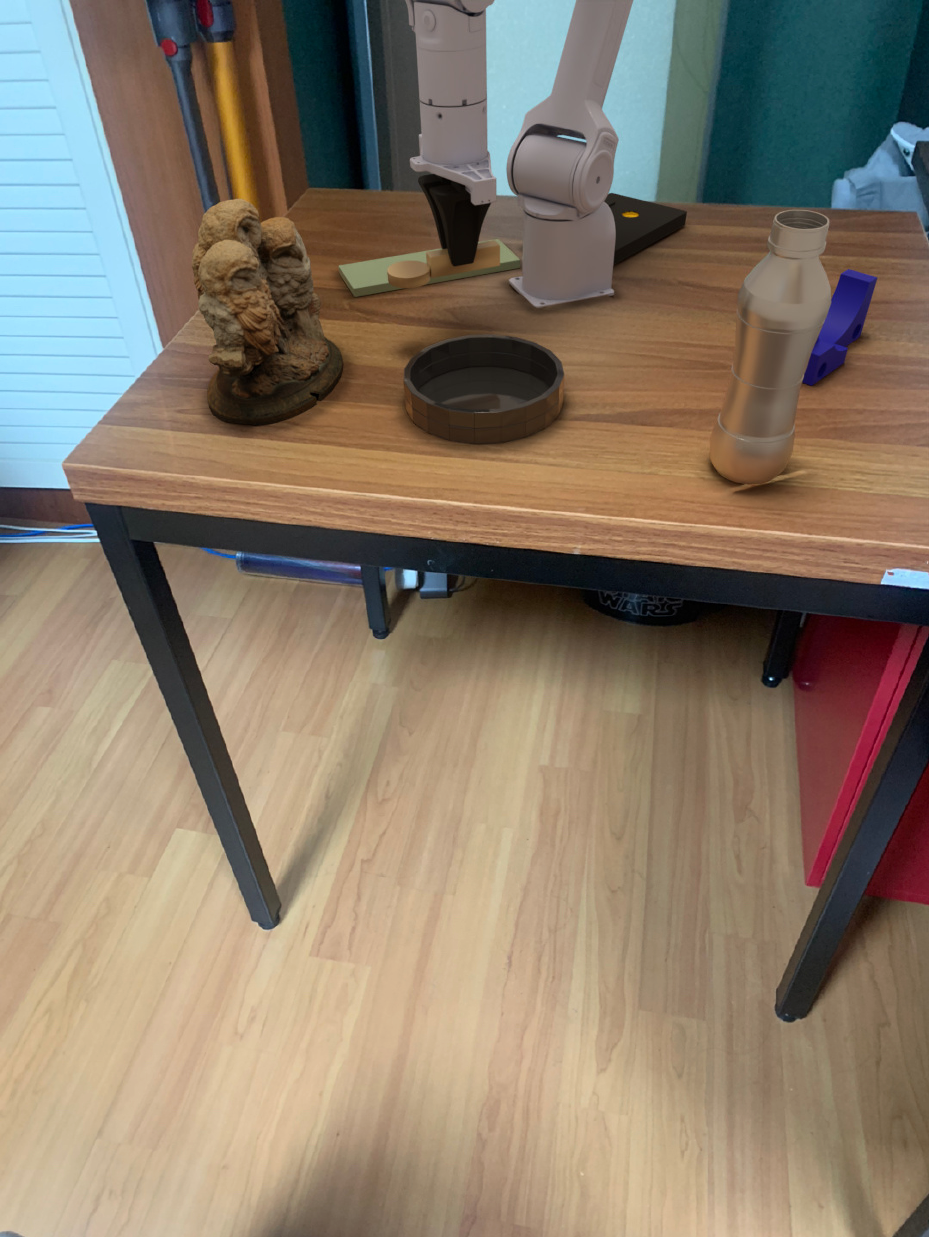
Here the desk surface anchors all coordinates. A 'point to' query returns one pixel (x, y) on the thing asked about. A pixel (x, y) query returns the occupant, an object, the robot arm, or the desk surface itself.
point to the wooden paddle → (440, 266)
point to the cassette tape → (640, 223)
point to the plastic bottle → (772, 350)
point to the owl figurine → (260, 317)
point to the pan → (483, 388)
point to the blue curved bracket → (840, 324)
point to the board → (374, 272)
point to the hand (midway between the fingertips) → (458, 259)
